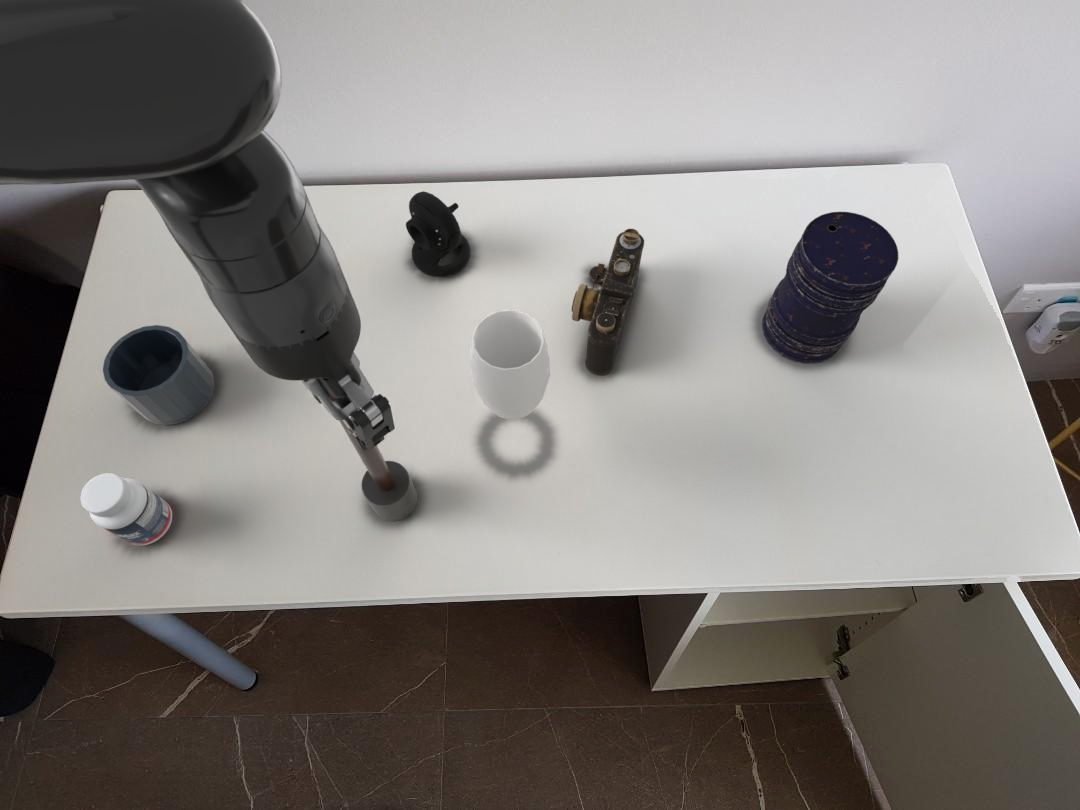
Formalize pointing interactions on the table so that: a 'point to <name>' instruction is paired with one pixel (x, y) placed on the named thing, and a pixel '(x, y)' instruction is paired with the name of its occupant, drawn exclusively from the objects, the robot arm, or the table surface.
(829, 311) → the navy stacked disc cylinder
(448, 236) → the webcam
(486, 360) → the white tall cylinder
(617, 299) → the camera
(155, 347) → the gray open cylinder
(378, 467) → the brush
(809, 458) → the table surface
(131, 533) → the pill bottle
